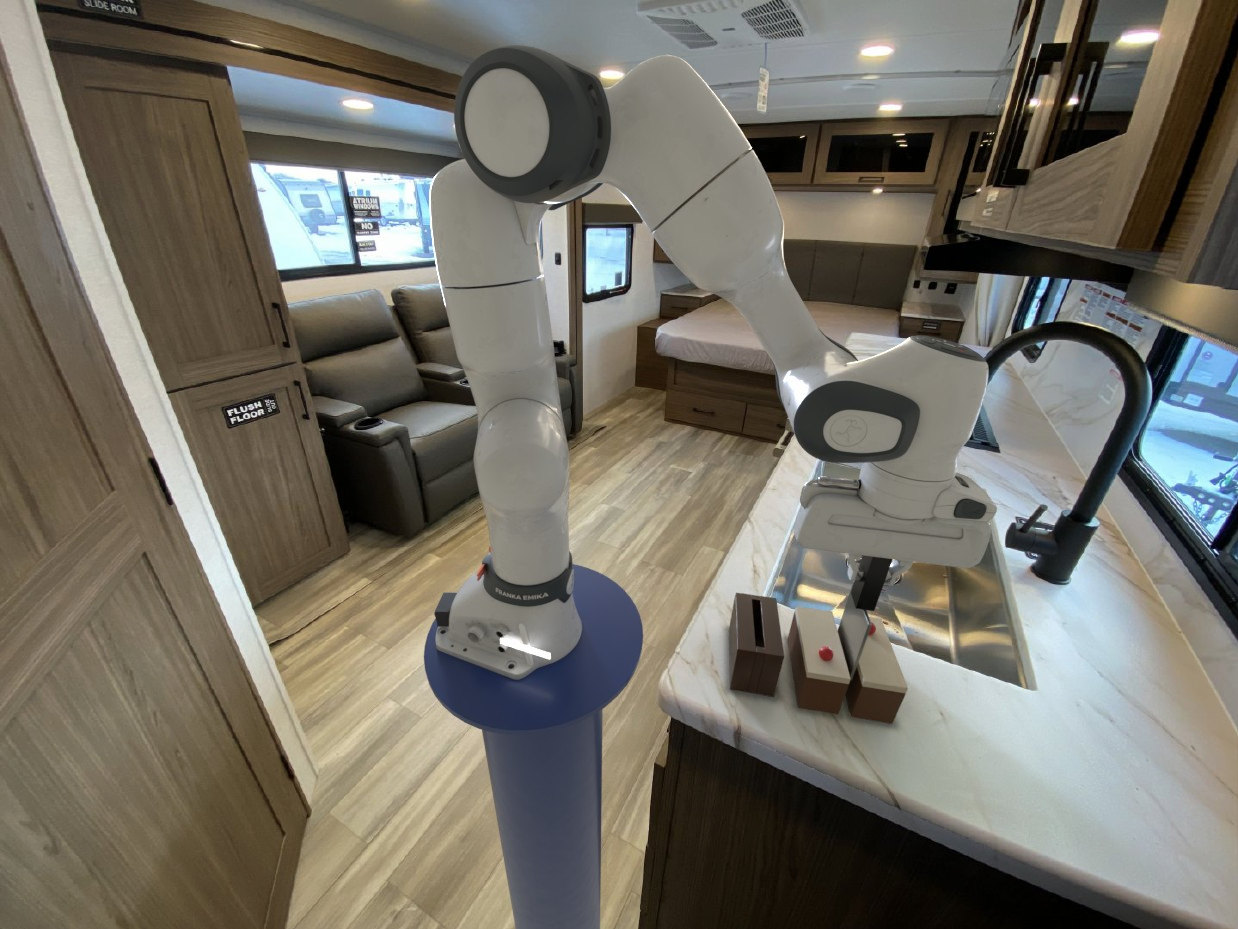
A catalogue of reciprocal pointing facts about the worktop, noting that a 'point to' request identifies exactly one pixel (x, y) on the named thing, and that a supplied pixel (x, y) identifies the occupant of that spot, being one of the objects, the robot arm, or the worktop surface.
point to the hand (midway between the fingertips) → (869, 580)
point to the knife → (861, 609)
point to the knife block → (755, 645)
